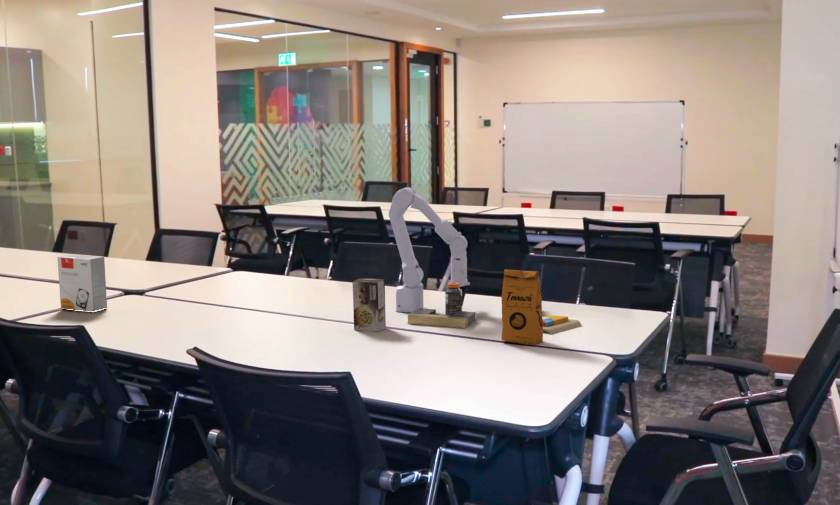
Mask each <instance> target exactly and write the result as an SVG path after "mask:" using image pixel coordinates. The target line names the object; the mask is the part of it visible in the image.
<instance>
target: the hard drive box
mask: <svg viewBox="0 0 840 505" xmlns="http://www.w3.org/2000/svg"><path fill="white" fill-rule="evenodd" d="M57 266H58V284H59V286H58V287H59V300H60V309H61V308H66V309H73V310H83V311H95V310H99V309H103V308H107V309H108V301H107V300H108V298H107V283H106V281H107V280H106V266H105V257H104V256H101V255H100V256H97V255H87V254H85V255H83V254H68V255H67V254H66V255H61V256H57Z"/></svg>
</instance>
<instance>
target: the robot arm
mask: <svg viewBox="0 0 840 505" xmlns="http://www.w3.org/2000/svg"><path fill="white" fill-rule="evenodd" d="M408 208H411V209H414V210H418V211H420V213H421V214H423V215H424V216H425V218H426V219H428V220H429V221H430V222H431V223H432V224H433V226H434V232H435V233H436V234H437V235H438V236H439V237H440V238H441V239H442V240H443V241H444V243H445V244H446V245H449V250H450V252H451V256H450V282H449V283H459V286H460V287H459V288H460V289H461V290H462V307H463V306H464V302H465V296H466V294H467V292H468V289H469V287H467V286H470V285H471V282H469V281H468V257H467V248H468V240H467V238H466V237H465V236H464V235H462V232H461V231H458V230H457V229H456V228H455V227H454V226H453V223H452V221H449V220H448V219H443V218H441V217H440V216H439V215H438V214H437V213H436V211H435V210H434V209H433V207H431V205H430V204H428V202H427V201H426V200H425V199H424V198H423V197H422V195H421V194H419V193H418V192H416V191H415V189H413V188H412V187H409V186H408V187H406V186H405V187H404V188H400V189H399V190H397V191H396V192H395V193H394V195H393V196H392V200H391V204H390V207H389V210H388V217H389V221H390V225H391V228H392V232H393V235H394V239H395V242H396V245H397V249H398V252H399V256H400V259H401V263H402V264H401V269H402V272H403V273H402V282H403V284H402V285H398V286H397V288H396V292H395V312H398V313H399V312H401V313H412V312H414V311H416V310H418V309H420V308H423V309H428V307H424V284H423V283H422V280H424V279H423V278H424V274H425V273H424V271H423V269H422V268H421V267H420V265H419V262H418V260H417V258H416V257H415V253H414V252H415V251H414V250H413V245H412V241H411V239H410V235H409V231H408V229H407V228H408V227H407V224H406V221H405V217H404V215H405V213H406V212H407V210H408Z"/></svg>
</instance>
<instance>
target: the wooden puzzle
mask: <svg viewBox="0 0 840 505" xmlns="http://www.w3.org/2000/svg"><path fill="white" fill-rule="evenodd" d="M542 319H543V332H547V333H548V334H549V335H553V334H558V333H561V332H565V331H568V330H573V329H575V328H579V327H581V326H582V323H581V321H579V320H578V319H573V318H572V319H571V318H569V317H568V316H566V315H565V316H564V315H552V314H543V313H542Z"/></svg>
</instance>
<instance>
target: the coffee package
mask: <svg viewBox="0 0 840 505" xmlns="http://www.w3.org/2000/svg"><path fill="white" fill-rule="evenodd" d="M540 281H541V280H540V277H539V271H538V270H537V271H533V270H516V269H504V272H503V282H502V292H501V315H502V316H501V321H502V326H501V327H502V329H501V341H502V342H508V343H514V344H520V345H530V346H538V345H539V344H540V343H543V342H544V339H543V338H544V336H543V335H544V331H543V319H542V314H543V304H542V303H543V301H542V300H543V299H542V293H541V284H540V283H541V282H540Z"/></svg>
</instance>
